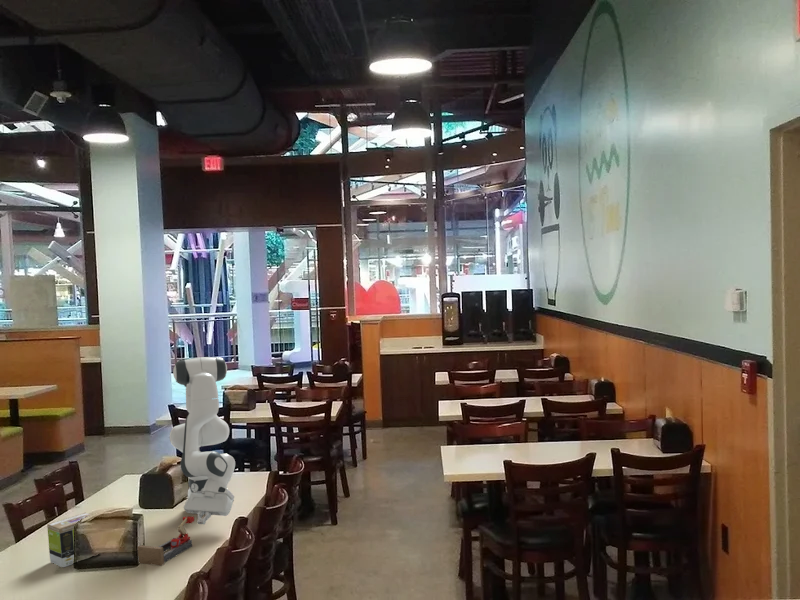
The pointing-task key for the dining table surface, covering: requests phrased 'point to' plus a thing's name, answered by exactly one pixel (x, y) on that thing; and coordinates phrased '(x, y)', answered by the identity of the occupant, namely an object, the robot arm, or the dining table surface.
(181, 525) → the red beige jointed figure
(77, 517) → the tea box
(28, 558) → the dining table surface
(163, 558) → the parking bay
